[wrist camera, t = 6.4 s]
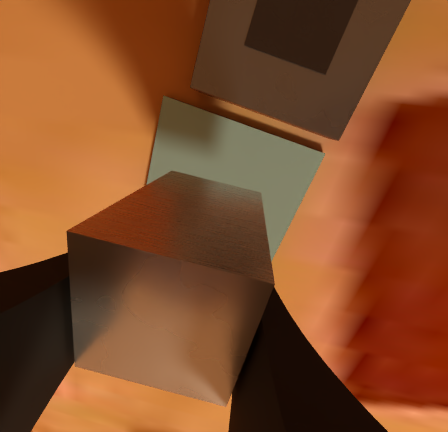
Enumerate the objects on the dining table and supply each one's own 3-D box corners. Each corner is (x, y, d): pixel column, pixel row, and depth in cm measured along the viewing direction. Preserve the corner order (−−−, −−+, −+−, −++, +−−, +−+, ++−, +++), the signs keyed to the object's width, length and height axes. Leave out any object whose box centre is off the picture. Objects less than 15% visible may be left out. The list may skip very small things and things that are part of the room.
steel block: (261, 192, 11) (274, 284, 5) (238, 267, 13) (226, 406, 7) (172, 170, 11) (66, 230, 5) (161, 247, 13) (74, 366, 7)
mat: (322, 152, 16) (325, 153, 16) (260, 277, 21) (261, 281, 21) (166, 96, 16) (163, 95, 16) (139, 235, 21) (136, 238, 20)
